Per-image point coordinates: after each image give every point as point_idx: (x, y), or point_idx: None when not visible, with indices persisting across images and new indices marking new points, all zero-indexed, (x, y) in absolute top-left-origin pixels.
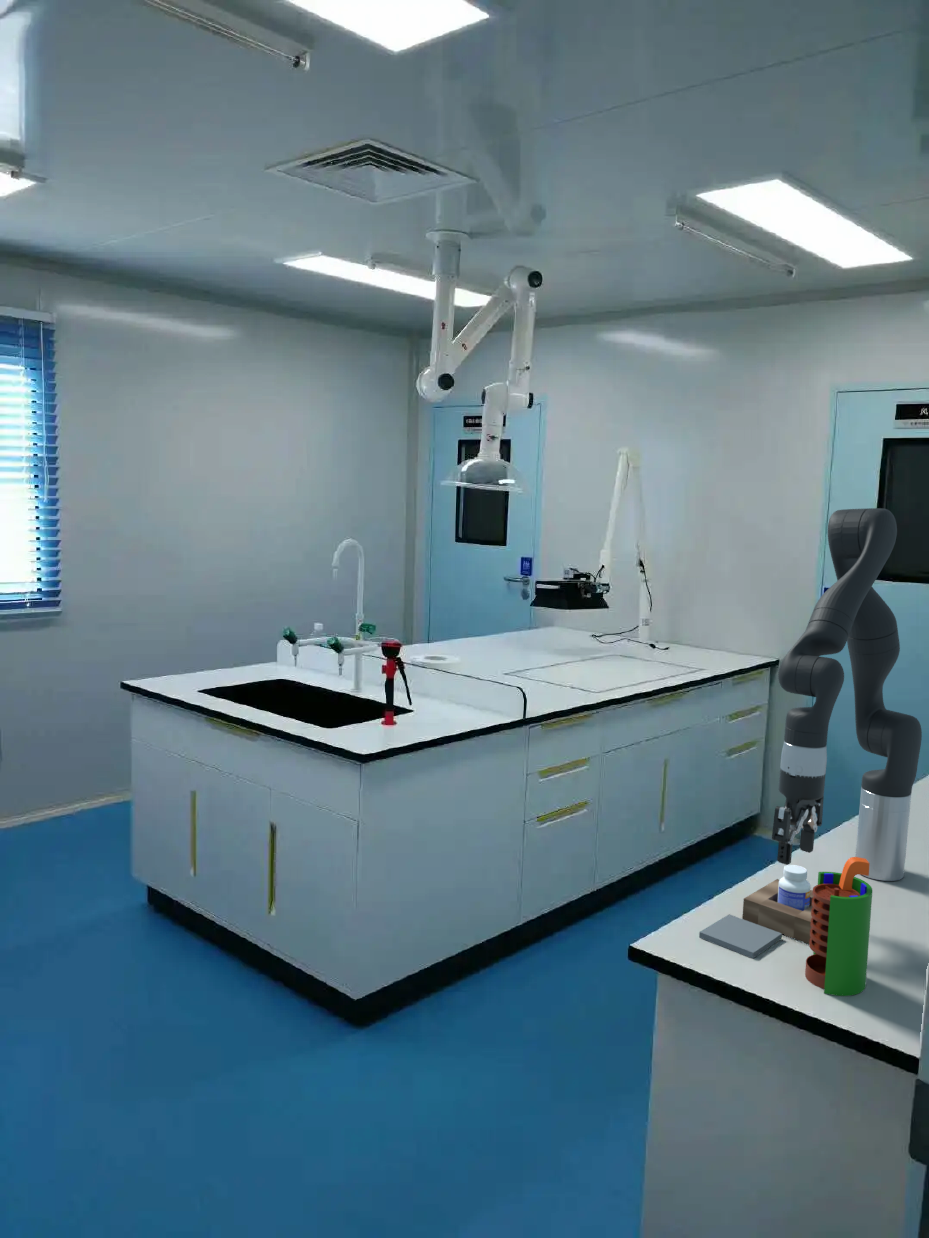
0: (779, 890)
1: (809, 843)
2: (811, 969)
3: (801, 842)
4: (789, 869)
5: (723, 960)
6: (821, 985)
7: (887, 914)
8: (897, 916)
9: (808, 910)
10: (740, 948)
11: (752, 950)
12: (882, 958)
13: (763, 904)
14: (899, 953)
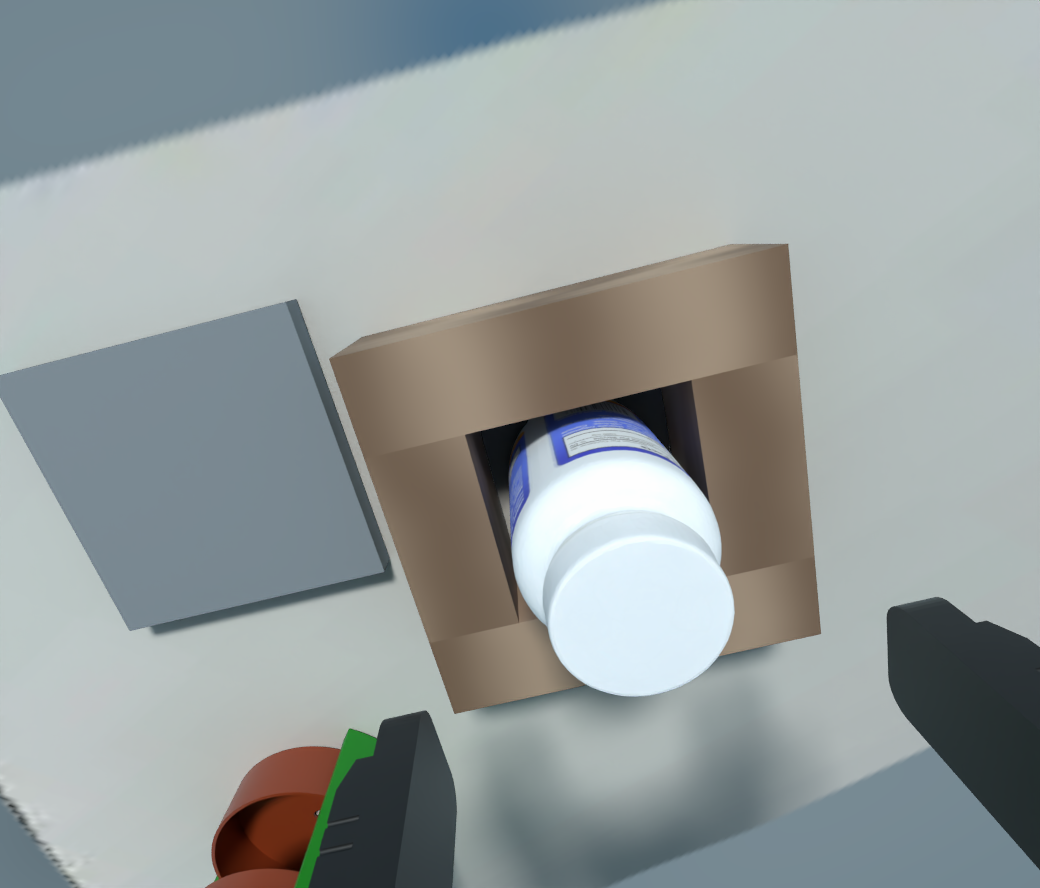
0: (521, 496)
1: (963, 758)
2: (212, 846)
3: (953, 663)
4: (587, 610)
5: (8, 573)
6: (240, 839)
7: (999, 612)
8: None
9: None
10: (104, 576)
11: (138, 617)
12: (611, 800)
13: (382, 475)
14: (698, 803)
